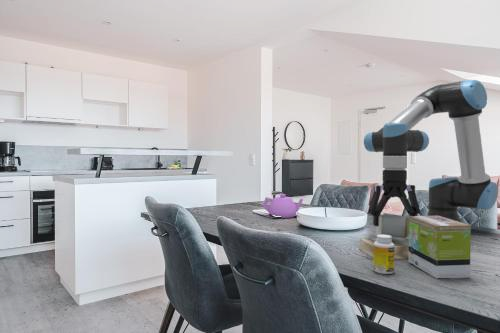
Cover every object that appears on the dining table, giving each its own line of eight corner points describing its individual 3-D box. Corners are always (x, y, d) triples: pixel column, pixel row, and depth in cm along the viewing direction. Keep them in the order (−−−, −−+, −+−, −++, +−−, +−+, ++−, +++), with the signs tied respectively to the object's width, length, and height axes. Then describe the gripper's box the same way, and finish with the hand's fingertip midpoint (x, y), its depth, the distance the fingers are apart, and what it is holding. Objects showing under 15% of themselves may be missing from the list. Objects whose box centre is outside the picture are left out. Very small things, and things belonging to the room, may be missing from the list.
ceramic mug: (407, 240, 116) (408, 216, 116) (380, 237, 120) (380, 214, 119) (409, 234, 125) (409, 212, 125) (384, 232, 129) (384, 210, 129)
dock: (407, 248, 129) (407, 236, 129) (429, 257, 117) (429, 244, 117) (359, 250, 126) (360, 237, 126) (377, 259, 115) (377, 246, 114)
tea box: (406, 263, 112) (407, 215, 111) (438, 262, 112) (438, 214, 112) (435, 279, 97) (437, 224, 96) (471, 278, 97) (472, 223, 97)
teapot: (261, 218, 192) (261, 195, 191) (263, 213, 207) (263, 192, 207) (303, 219, 189) (303, 196, 189) (302, 214, 204) (303, 193, 204)
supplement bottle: (389, 276, 99) (390, 238, 99) (370, 271, 103) (370, 236, 102) (396, 271, 103) (397, 235, 103) (377, 267, 107) (378, 232, 107)
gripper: (419, 168, 127) (418, 231, 127) (357, 168, 123) (356, 234, 124) (433, 169, 119) (431, 236, 120) (367, 169, 116) (367, 239, 116)
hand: (393, 235), depth 122 cm, fingers closed on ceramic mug, 10 cm apart
